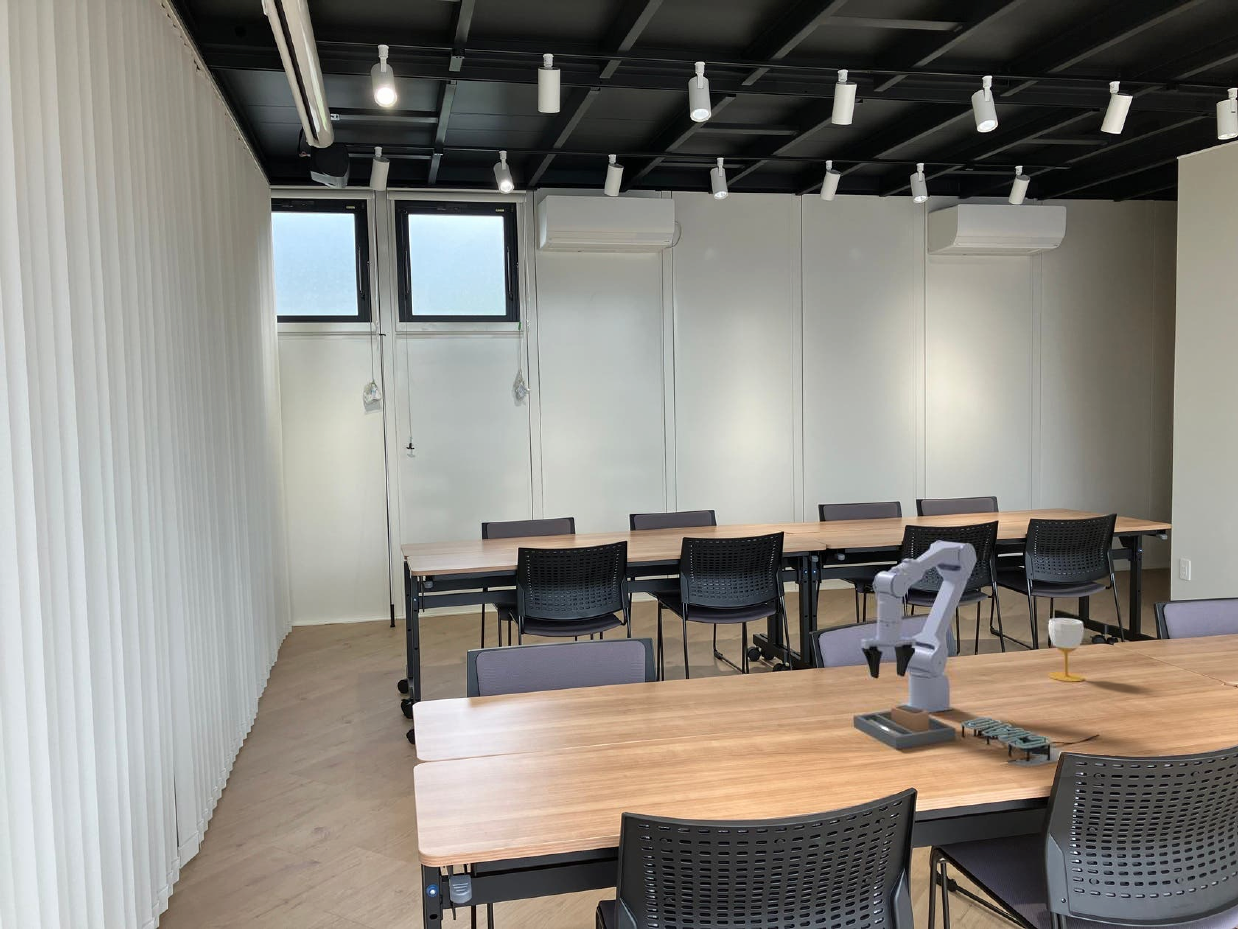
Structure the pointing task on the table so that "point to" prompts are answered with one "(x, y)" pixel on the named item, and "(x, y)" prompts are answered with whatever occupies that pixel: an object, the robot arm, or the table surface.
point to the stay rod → (884, 727)
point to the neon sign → (1018, 741)
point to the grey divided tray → (903, 731)
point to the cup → (1066, 643)
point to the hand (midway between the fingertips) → (887, 676)
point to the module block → (910, 718)
